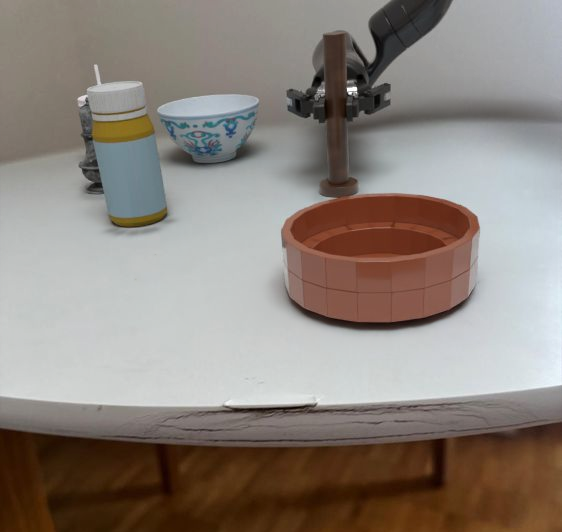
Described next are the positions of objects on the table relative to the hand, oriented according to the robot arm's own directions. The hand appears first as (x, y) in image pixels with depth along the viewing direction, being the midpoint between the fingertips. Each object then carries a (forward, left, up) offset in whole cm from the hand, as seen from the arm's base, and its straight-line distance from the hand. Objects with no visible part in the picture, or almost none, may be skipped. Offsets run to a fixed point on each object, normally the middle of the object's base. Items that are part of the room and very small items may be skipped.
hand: (335, 113), depth 80 cm
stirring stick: (-1, -3, -10) cm, 10 cm away
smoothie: (+29, -32, -10) cm, 44 cm away
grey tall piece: (+29, -17, -10) cm, 35 cm away
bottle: (+24, -2, -10) cm, 26 cm away
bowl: (+2, +26, -10) cm, 28 cm away
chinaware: (+13, -27, -10) cm, 32 cm away
